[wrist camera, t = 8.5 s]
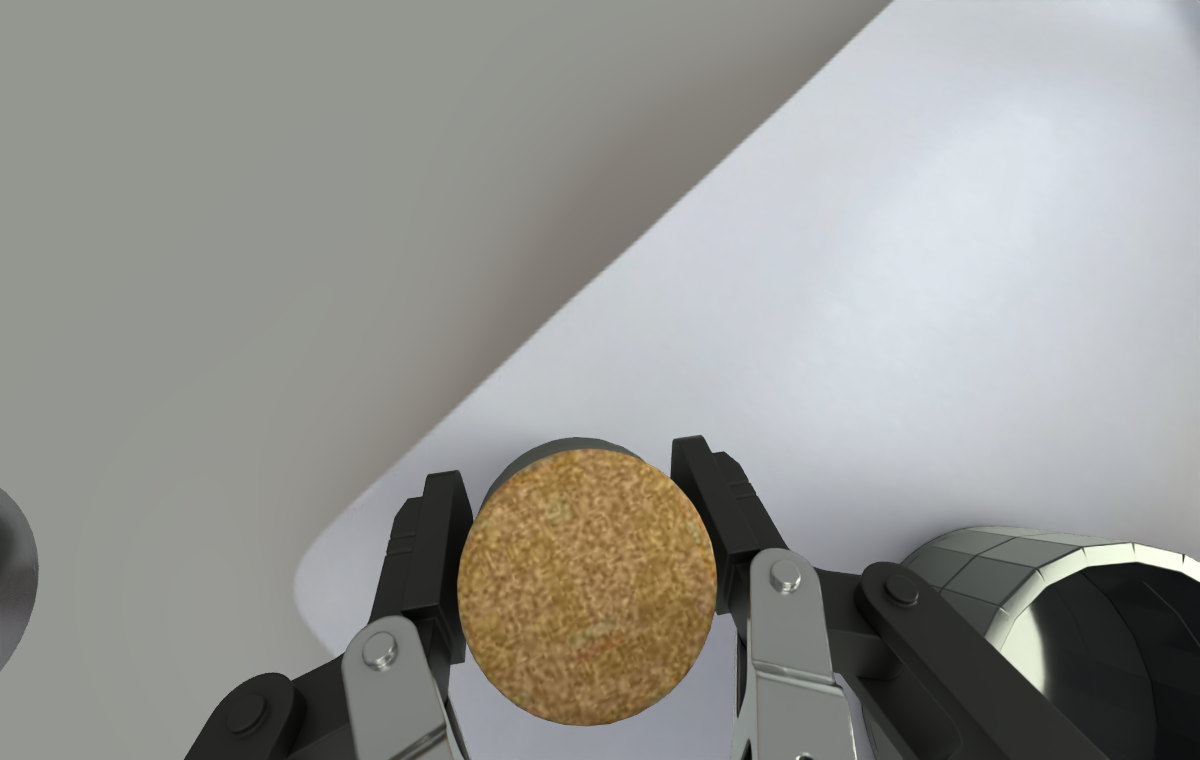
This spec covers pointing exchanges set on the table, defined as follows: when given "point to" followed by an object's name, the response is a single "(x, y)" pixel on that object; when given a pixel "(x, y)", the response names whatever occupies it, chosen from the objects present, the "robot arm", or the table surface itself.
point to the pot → (1081, 630)
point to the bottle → (586, 583)
